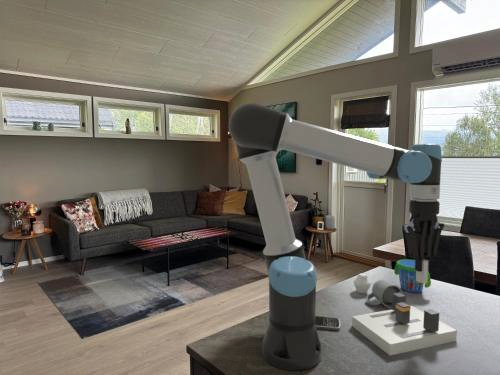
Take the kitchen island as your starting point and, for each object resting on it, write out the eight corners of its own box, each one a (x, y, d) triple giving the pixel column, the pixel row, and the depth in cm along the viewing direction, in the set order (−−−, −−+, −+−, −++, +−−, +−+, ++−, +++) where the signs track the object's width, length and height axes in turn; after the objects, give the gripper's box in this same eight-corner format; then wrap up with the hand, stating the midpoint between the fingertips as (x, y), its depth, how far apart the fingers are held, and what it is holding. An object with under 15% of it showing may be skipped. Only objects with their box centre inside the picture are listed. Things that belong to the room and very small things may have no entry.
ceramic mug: (389, 297, 123) (390, 276, 122) (402, 307, 115) (403, 285, 114) (361, 299, 121) (361, 278, 121) (372, 310, 113) (373, 287, 112)
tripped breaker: (402, 324, 96) (403, 307, 95) (395, 320, 98) (396, 303, 98) (409, 323, 97) (410, 305, 96) (402, 318, 99) (403, 302, 99)
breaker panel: (390, 355, 87) (390, 343, 87) (352, 326, 102) (352, 316, 102) (456, 340, 94) (456, 330, 94) (411, 315, 109) (411, 305, 109)
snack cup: (386, 283, 137) (387, 258, 136) (409, 281, 139) (410, 256, 138) (413, 299, 121) (414, 270, 120) (438, 296, 124) (440, 268, 123)
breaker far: (398, 313, 103) (399, 296, 102) (392, 309, 105) (392, 293, 105) (405, 311, 104) (405, 295, 103) (398, 308, 106) (399, 292, 106)
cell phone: (340, 332, 99) (340, 328, 99) (301, 328, 101) (301, 324, 101) (339, 322, 105) (339, 318, 105) (303, 318, 107) (303, 314, 107)
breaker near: (431, 332, 92) (432, 314, 91) (423, 327, 94) (424, 310, 94) (438, 331, 92) (439, 313, 92) (430, 326, 95) (431, 309, 94)
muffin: (365, 296, 124) (365, 277, 123) (350, 291, 128) (350, 273, 127) (373, 292, 128) (374, 273, 127) (358, 287, 132) (359, 269, 132)
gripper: (416, 202, 91) (413, 289, 93) (453, 200, 95) (450, 283, 97) (395, 199, 98) (393, 280, 100) (431, 197, 102) (428, 274, 104)
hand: (421, 281), depth 98 cm, fingers closed
